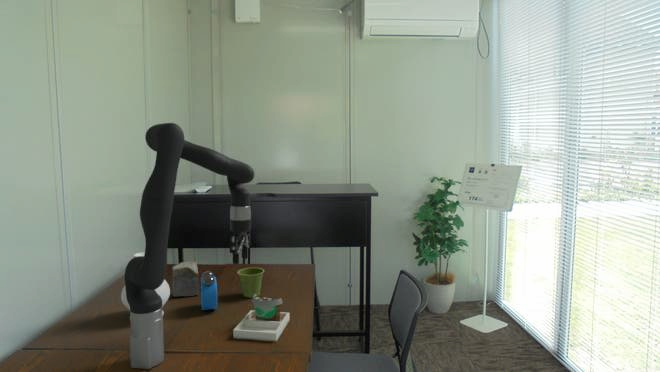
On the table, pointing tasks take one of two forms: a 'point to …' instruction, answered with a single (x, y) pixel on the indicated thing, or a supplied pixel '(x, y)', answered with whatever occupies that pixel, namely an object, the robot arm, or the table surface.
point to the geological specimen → (185, 279)
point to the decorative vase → (161, 291)
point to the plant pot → (251, 281)
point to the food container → (267, 308)
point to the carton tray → (260, 328)
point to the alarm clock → (208, 291)
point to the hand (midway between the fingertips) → (240, 261)
